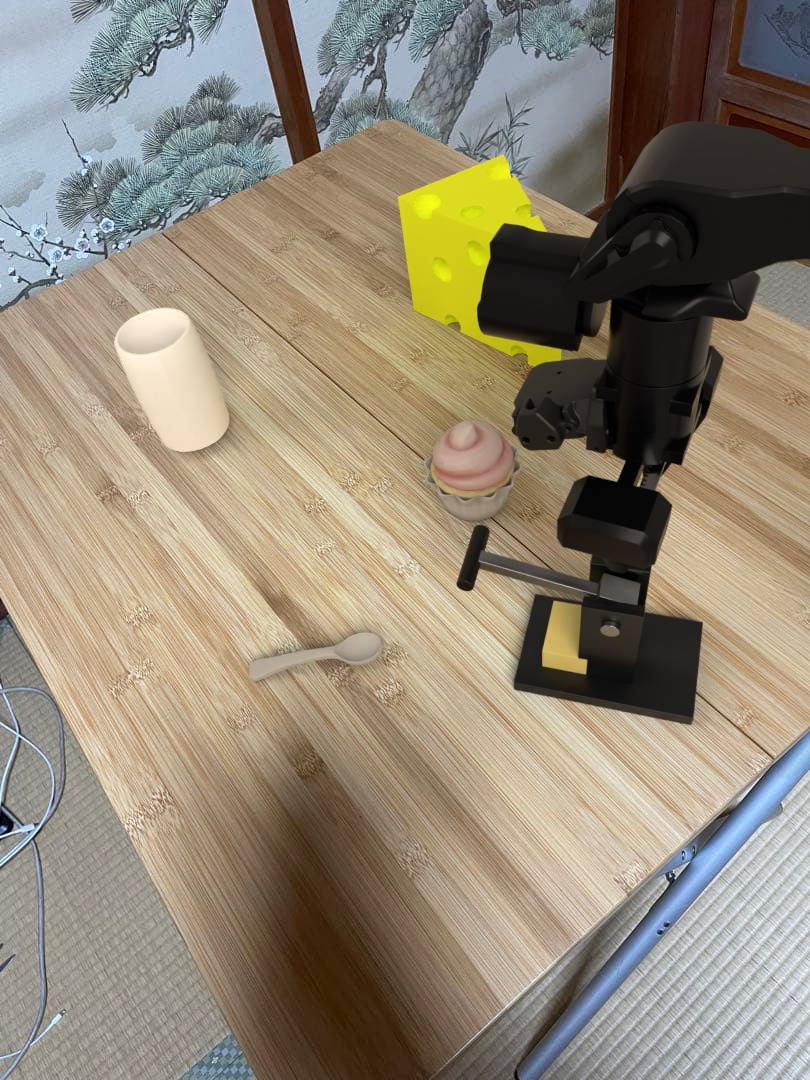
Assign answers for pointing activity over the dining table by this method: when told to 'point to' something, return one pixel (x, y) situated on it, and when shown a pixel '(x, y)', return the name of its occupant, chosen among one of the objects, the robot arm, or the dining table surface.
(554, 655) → the butter
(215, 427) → the cup
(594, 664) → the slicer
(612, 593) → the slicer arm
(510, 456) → the cupcake
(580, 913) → the dining table surface
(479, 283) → the cheese wedge
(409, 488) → the dining table surface
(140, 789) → the dining table surface
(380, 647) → the spoon
